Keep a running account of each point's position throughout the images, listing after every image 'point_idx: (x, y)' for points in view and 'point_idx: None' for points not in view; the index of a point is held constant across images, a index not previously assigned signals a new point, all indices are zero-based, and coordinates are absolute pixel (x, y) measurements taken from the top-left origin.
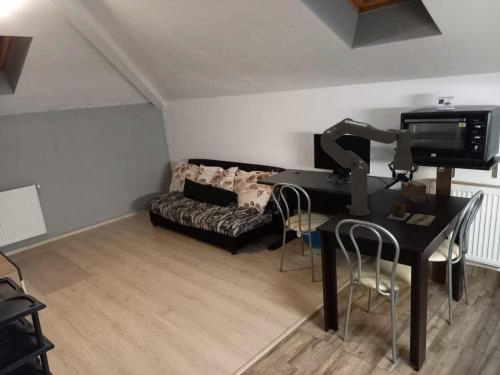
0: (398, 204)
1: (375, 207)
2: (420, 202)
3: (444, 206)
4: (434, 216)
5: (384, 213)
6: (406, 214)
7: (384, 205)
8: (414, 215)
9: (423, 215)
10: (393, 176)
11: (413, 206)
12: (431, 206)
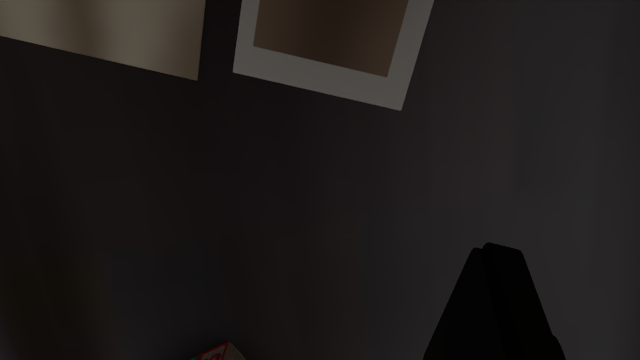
0: (346, 4)
1: (597, 197)
2: (201, 356)
3: (17, 301)
4: (5, 25)
5: (508, 20)
6: None
7: None
8: (188, 13)
9: (107, 34)
10: (509, 294)
11: (242, 272)
12: (106, 290)
